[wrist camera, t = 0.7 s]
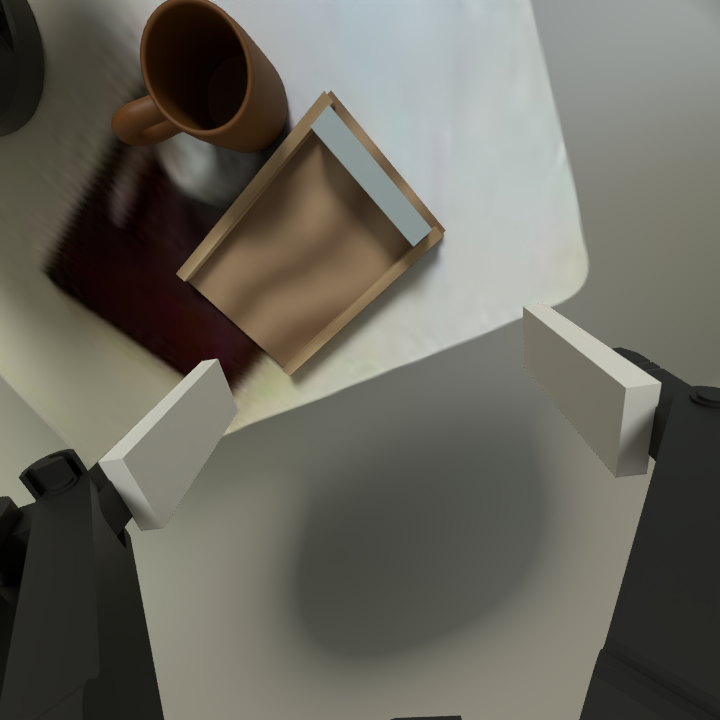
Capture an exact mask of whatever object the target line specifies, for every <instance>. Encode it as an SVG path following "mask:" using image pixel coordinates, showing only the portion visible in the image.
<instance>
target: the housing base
mask: <svg viewBox="0 0 720 720" xmlns="http://www.w3.org/2000/svg"><path fill="white" fill-rule="evenodd" d="M328 105H329V106H330V107H331V108H332V109H333V110H334V112H335V113H336V114H337V115H338V116H339V118H340V119H341V120H342V121H343V122H344V124H345V125H346V126H347V127H348V128H349V130H350V131H351V132H352V133H353V135H354V136H355V137H356V138H357V139H358V141H359V142H360V143H361V144H362V145H363V147H364V148H365V149H366V150H367V151H368V153H369V154H370V155H371V156H372V157H373V159H374V160H375V161H376V162H377V163H378V165H379V166H380V167H381V168H382V170H383V171H384V172H385V173H386V174H387V176H388V177H389V178H390V179H391V180H392V182H393V183H394V184H395V185H396V186H397V188H398V189H399V190H400V191H401V192H402V194H403V195H404V196H405V197H406V198H407V200H408V201H409V202H410V203H411V204H412V206H413V207H414V208H415V209H416V211H417V212H418V213H419V214H420V215H421V217H422V218H423V219H424V220H425V221H426V223H427V224H428V225H429V226H430V227H431V229H432V230H431V231H430V232H429V233H428V234H427V235H426V236H425V237H424V238H423V239H422V240H420V241H419V242H418V243H417V244H416V245H415V246H414V247H413V246H412V244H411V243H410V242H409V241H408V240H407V239H406V237H405V236H404V235H403V234H402V233H401V232H400V230H399V229H398V228H397V227H396V226H395V225H394V223H393V222H392V221H391V220H390V219H389V218H388V216H387V215H386V214H385V213H384V212H383V211H382V210H381V208H380V207H379V206H378V205H377V204H376V203H375V201H374V200H373V199H372V198H371V197H370V196H369V194H368V193H367V192H366V191H365V190H364V189H363V187H362V186H361V185H360V184H359V183H358V182H357V180H356V179H355V178H354V177H353V176H352V175H351V173H350V172H349V171H348V170H347V169H346V168H345V167H344V165H343V164H342V163H341V162H340V161H339V160H338V158H337V157H336V156H335V155H334V154H333V153H332V151H331V150H330V149H329V148H328V147H327V146H326V144H325V143H324V142H323V141H322V140H321V139H320V137H319V136H318V135H317V134H316V133H315V132H314V130H313V129H312V128H311V127H310V126H311V125H312V124H313V123H314V122H315V120H316V119H317V118H318V117H319V116H320V114H321V113H322V112H323V111H324V110H325V108H326V107H327V106H328ZM443 232H445V229H444V228H443V227H442V226H441V224H440V223H439V222H438V221H437V219H436V218H435V217H434V216H433V215H432V213H431V212H430V211H429V210H428V208H427V207H426V206H425V205H424V204H423V202H422V201H421V200H420V199H419V197H418V196H417V195H416V194H415V193H414V191H413V190H412V189H411V188H410V186H409V185H408V184H407V183H406V182H405V180H404V179H403V178H402V177H401V175H400V174H399V173H398V172H397V171H396V169H395V168H394V167H393V166H392V164H391V163H390V162H389V161H388V160H387V158H386V157H385V156H384V155H383V153H382V152H381V151H380V150H379V149H378V147H377V146H376V145H375V144H374V142H373V141H372V140H371V139H370V138H369V136H368V135H367V134H366V133H365V131H364V130H363V129H362V128H361V127H360V125H359V124H358V123H357V122H356V120H355V119H354V118H353V117H352V116H351V114H350V113H349V112H348V111H347V109H346V108H345V107H344V106H343V104H342V103H341V102H340V101H339V100H338V98H337V97H336V96H335V95H334V93H333V92H332V91H330V92H329V93H328V95H327V94H326V93H325V91H324V92H323V93H322V94H321V96H320V97H319V98H318V99H317V101H316V102H315V103H314V104H313V105H312V107H311V108H310V109H309V110H308V112H307V113H306V114H305V115H304V117H303V118H302V119H301V120H300V122H299V123H298V124H297V125H296V126H295V128H294V129H293V130H292V131H291V133H290V134H289V135H288V136H287V138H286V139H285V140H284V141H283V143H282V144H281V145H280V146H279V147H278V149H277V150H276V151H275V152H274V154H273V155H272V156H271V157H270V159H269V160H268V161H267V162H266V164H265V165H264V166H263V167H262V168H261V170H260V171H259V172H258V173H257V175H256V176H255V177H254V178H253V180H252V181H251V182H250V183H249V185H248V186H247V187H246V188H245V189H244V191H243V192H242V193H241V194H240V196H239V197H238V198H237V199H236V201H235V202H234V203H233V204H232V206H231V207H230V208H229V209H228V210H227V212H226V213H225V214H224V215H223V217H222V218H221V219H220V220H219V222H218V223H217V224H216V225H215V227H214V228H213V229H212V230H211V231H210V233H209V234H208V235H207V236H206V238H205V239H204V240H203V241H202V243H201V244H200V245H199V246H198V248H197V249H196V250H195V251H194V252H193V254H192V255H191V256H190V257H189V259H188V260H187V261H186V262H185V264H184V265H183V266H182V267H181V269H180V270H179V271H178V272H177V273H176V274H177V275H178V276H179V277H180V278H181V279H182V280H183V281H188V282H189V283H190V284H192V285H193V286H194V287H195V288H196V289H197V290H198V291H199V292H200V293H201V294H203V295H204V296H205V297H206V298H207V299H208V300H209V301H210V302H211V303H213V304H214V305H215V306H216V307H217V308H218V309H219V310H220V311H221V312H223V313H224V314H225V315H226V316H227V317H228V318H229V319H230V320H231V321H233V322H234V323H235V324H236V325H237V326H238V327H239V328H240V329H241V330H243V331H244V332H245V333H246V334H247V335H248V336H249V337H250V338H251V339H253V340H254V341H255V342H256V343H257V344H258V345H259V346H260V347H261V348H263V349H264V350H265V351H266V352H267V353H268V354H269V355H270V356H271V357H272V358H274V359H275V360H276V361H277V362H278V363H279V364H280V365H281V366H282V367H284V368H283V370H284V371H285V372H286V373H287V374H288V375H289V376H290V375H291V374H292V373H293V372H294V371H295V370H297V369H298V368H299V367H300V366H301V365H302V364H303V363H304V362H305V361H306V360H308V359H309V358H310V357H311V356H312V355H313V354H314V353H315V352H316V351H318V350H319V349H320V348H321V347H322V346H323V345H324V344H325V343H326V342H327V341H329V340H330V339H331V338H332V337H333V336H334V335H335V334H336V333H337V332H338V331H340V330H341V329H342V328H343V327H344V326H345V325H346V324H347V323H348V322H349V321H351V320H352V319H353V318H354V317H355V316H356V315H357V314H358V313H359V312H360V311H362V310H363V309H364V308H365V307H366V306H367V305H368V304H369V303H370V302H371V301H373V300H374V299H375V298H376V297H377V296H378V295H379V294H380V293H381V292H382V291H384V290H385V289H386V288H387V287H388V286H389V285H390V284H391V283H392V282H393V281H395V280H396V279H397V278H398V277H399V276H400V275H401V274H402V273H403V272H404V271H406V270H407V269H408V268H409V267H410V266H411V265H412V264H413V263H414V262H415V261H417V260H418V259H419V258H420V257H421V256H422V255H423V254H424V253H425V252H426V251H428V250H429V249H430V248H431V247H432V246H433V245H434V244H435V243H436V242H437V241H439V240H440V239H441V238H442V237H443V235H442V233H443Z"/></svg>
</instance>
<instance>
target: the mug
mask: <svg viewBox="0 0 720 720" xmlns="http://www.w3.org/2000/svg"><path fill="white" fill-rule="evenodd" d="M140 63H141V69H142V75H143V78H144V82H145V85H146V87H147V90H148V92H149V95H148V96H145V97H142V98H140V99H137V100H135V101H132V102H129V103H127V104H126V105H124V106H123V107H121V108H120V109H119V110H118V111H117V112H116V113H115V114H114V116H113V117H112V129H113V131H114V133H115V134H116V135H117V137H118V138H119V139H120V140H121V141H123V142H124V143H127V144H130V145H136V146H143V145H151V144H155V143H158V142H161V141H164V140H167V139H169V138H171V137H173V136H175V135H176V134H178V133H181V132H185V133H187V134H189V135H191V136H193V137H195V138H197V139H199V140H202V141H204V142H207V143H210V144H214V145H217V146H220V147H223V148H227V149H231V150H234V151H237V152H242V153H254V152H259V151H262V150H264V149H266V148H268V147H269V146H271V145H272V144H273V143H274V142H275V141H276V140H277V138H278V137H279V135H280V134H281V132H282V130H283V128H284V125H285V122H286V116H287V99H286V93H285V89H284V85H283V83H282V80H281V78H280V76H279V74H278V72H277V71H276V69H275V68H274V66H273V65H272V63H271V62H270V61H269V60H268V59H267V57H266V56H265V55H264V53H263V52H262V51H261V50H260V48H259V47H258V46H257V45H256V43H255V42H254V41H253V40H252V39H251V37H250V36H249V35H248V34H247V33H246V31H245V30H244V29H243V28H242V27H241V26H240V25H239V24H238V23H237V22H236V21H235V20H234V19H233V18H232V17H230V16H229V15H228V14H227V13H226V12H225V11H224V10H223V9H221V8H220V7H219V6H217V5H216V4H214V3H212V2H210V1H209V0H168V1H166V2H164V3H162V4H161V5H160V6H159V7H158V8H157V9H156V10H155V11H154V12H153V13H152V15H151V16H150V18H149V19H148V21H147V23H146V26H145V28H144V31H143V35H142V39H141V45H140Z"/></svg>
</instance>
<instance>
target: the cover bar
mask: <svg viewBox="0 0 720 720" xmlns="http://www.w3.org/2000/svg"><path fill="white" fill-rule="evenodd" d="M310 127H311V128H312V129H313V130H314V132H315V133H316V134H317V135H318V136H319V137H320V139H321V140H322V141H323V142H324V143H325V144H326V146H327V147H328V148H329V149H330V150H331V151H332V153H333V154H334V155H335V156H336V157H337V158H338V160H339V161H340V162H341V163H342V164H343V165H344V167H345V168H346V169H347V170H348V171H349V172H350V173H351V175H352V176H353V177H354V178H355V179H356V180H357V182H358V183H359V184H360V185H361V186H362V187H363V189H364V190H365V191H366V192H367V193H368V194H369V196H370V197H371V198H372V199H373V200H374V201H375V203H376V204H377V205H378V206H379V207H380V208H381V210H382V211H383V212H384V213H385V214H386V215H387V216H388V218H389V219H390V220H391V221H392V222H393V223H394V225H395V226H396V227H397V228H398V229H399V230H400V232H401V233H402V234H403V235H404V236H405V237H406V239H407V240H408V241H409V242H410V243H411V244H412V246H413V247H414V246H415V245H416V244H417V243H418V242H419V241H420V240H422V239H423V238H424V237H425V236H426V235H427V234H428V233H429V232H430V231H431V230H432V229H431V227H430V226H429V225H428V224H427V223H426V221H425V220H424V219H423V218H422V217H421V215H420V214H419V213H418V212H417V211H416V209H415V208H414V207H413V206H412V204H411V203H410V202H409V201H408V200H407V198H406V197H405V196H404V195H403V194H402V192H401V191H400V190H399V189H398V188H397V186H396V185H395V184H394V183H393V182H392V180H391V179H390V178H389V177H388V176H387V174H386V173H385V172H384V171H383V170H382V168H381V167H380V166H379V165H378V163H377V162H376V161H375V160H374V159H373V157H372V156H371V155H370V154H369V153H368V151H367V150H366V149H365V148H364V147H363V145H362V144H361V143H360V142H359V141H358V139H357V138H356V137H355V136H354V135H353V133H352V132H351V131H350V130H349V128H348V127H347V126H346V125H345V124H344V122H343V121H342V120H341V119H340V118H339V116H338V115H337V114H336V113H335V112H334V110H333V109H332V108H331V107H330V106H329V105H328V106H327V107H326V108H325V110H324V111H323V112H322V113H321V114H320V116H319V117H318V118H317V119H316V120H315V122H314V123H313V124H312V125H311V126H310Z"/></svg>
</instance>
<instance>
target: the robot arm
mask: <svg viewBox="0 0 720 720" xmlns="http://www.w3.org/2000/svg"><path fill="white" fill-rule="evenodd" d="M43 73H44V68H43V54H42V48H41V42H40V38H39V34H38V30H37V27H36V24H35V21H34V18H33V15H32V13H31V10H30V8H29V6H28V3H27V1H26V0H0V136H3V135H7V134H10V133H12V132H14V131H16V130H17V129H19V128H20V127H22V126H23V125H24V124H25V123H26V122H27V121H28V120H29V118H30V117H31V116H32V114H33V112H34V111H35V109H36V107H37V104H38V102H39V99H40V95H41V91H42V86H43ZM523 334H524V368H525V369H526V370H527V372H528V373H529V374H530V375H531V376H532V378H533V379H534V380H535V381H536V382H537V384H538V385H539V386H540V387H541V388H542V390H543V391H544V392H545V393H546V394H547V396H548V397H549V398H550V399H551V400H552V402H553V403H554V404H555V405H556V406H557V408H558V409H559V410H560V411H561V412H562V414H563V415H564V416H565V417H566V419H567V420H568V421H569V422H570V423H571V425H572V426H573V427H574V428H575V429H576V431H577V432H578V433H579V434H580V435H581V436H582V438H583V439H584V440H585V441H586V443H587V444H588V445H589V446H590V447H591V449H592V450H593V451H594V452H595V453H596V455H597V456H598V457H599V458H600V460H601V461H602V462H603V463H604V464H605V466H607V468H608V469H609V470H610V472H611V473H612V474H613V475H614V476H615V477H624V476H633V475H641V474H647V468H648V462H649V456H651V457H652V458H653V459H654V460H655V461H656V463H655V467H654V470H653V474H652V477H651V481H650V484H649V488H648V491H647V495H646V499H645V502H644V506H643V509H642V513H641V516H640V520H639V524H638V527H637V531H636V534H635V538H634V541H633V545H632V549H631V552H630V556H629V559H628V563H627V566H626V570H625V574H624V577H623V581H622V584H621V588H620V592H619V595H618V599H617V602H616V606H615V610H614V613H613V617H612V620H611V624H610V628H609V631H608V634H607V638H606V641H605V644H604V647H603V649H601V650H600V652H599V655H598V658H597V661H596V664H595V667H594V670H593V674H592V677H591V681H590V684H589V688H588V691H587V695H586V698H585V702H584V705H583V709H582V712H581V716H580V719H579V720H720V388H717V387H708V386H690V385H689V384H687V383H685V382H683V381H682V380H681V379H679V378H677V377H675V376H674V375H672V374H671V373H669V372H667V371H666V370H664V369H661V368H660V366H658V365H656V364H655V363H653V362H650V360H648V359H647V358H645V357H644V356H642V355H640V354H639V353H636V352H633V351H630V350H627V349H623V348H613V349H610V348H609V347H607V346H606V345H605V344H603V343H602V342H600V341H598V340H597V339H595V338H594V337H592V336H591V335H590V334H588V333H587V332H585V331H584V330H582V329H581V328H579V327H578V326H576V325H575V324H573V323H572V322H571V321H569V320H568V319H566V318H565V317H563V316H562V315H560V314H559V313H557V312H556V311H554V310H553V309H551V308H550V307H548V306H547V305H545V304H544V303H540V304H534V305H528V306H523ZM237 412H238V408H237V406H236V403H235V401H234V398H233V396H232V393H231V391H230V388H229V386H228V383H227V381H226V378H225V376H224V373H223V371H222V368H221V366H220V363H219V361H218V359H213V360H207V361H202V362H201V363H200V364H199V365H198V366H197V367H196V368H195V369H193V370H192V371H191V372H190V373H189V374H188V375H187V376H186V377H185V378H184V379H183V380H182V381H181V382H180V383H179V384H178V385H177V386H176V387H175V388H174V389H173V390H172V391H171V392H170V393H169V394H168V395H167V396H166V397H165V398H163V399H162V400H161V401H160V402H159V403H158V404H157V405H156V406H155V407H154V408H153V409H152V410H151V411H150V412H149V413H148V414H147V415H146V416H145V417H144V418H143V419H142V420H141V421H140V422H139V423H138V424H137V425H136V426H135V427H133V428H132V429H131V430H130V431H129V432H128V433H127V434H126V435H125V436H124V437H123V438H122V439H121V440H120V441H119V442H118V443H117V444H116V445H114V446H113V447H112V449H110V450H109V451H108V452H107V453H106V454H105V455H104V456H103V457H102V458H101V459H100V460H99V461H98V462H97V463H96V464H95V465H94V466H93V467H92V468H91V469H90V470H89V471H87V469H86V467H85V466H84V464H83V463H82V461H81V460H80V458H79V457H78V455H77V454H76V452H75V451H74V450H73V449H67V450H62V451H58V452H55V453H53V454H50V455H48V456H46V457H44V458H42V459H40V460H38V461H36V462H35V463H33V464H32V465H30V466H29V467H28V468H27V469H25V470H24V471H23V472H22V474H21V475H20V477H19V478H20V480H21V481H22V483H23V484H24V485H25V486H26V488H27V489H28V490H29V492H30V493H31V494H32V496H33V497H34V498H35V500H36V502H35V503H32V504H29V505H26V506H23V507H20V508H18V507H17V506H16V504H15V503H14V502H13V501H12V499H11V498H10V497H8V496H7V497H6V496H5V497H0V720H164V716H163V711H162V705H161V700H160V694H159V689H158V683H157V678H156V673H155V668H154V662H153V657H152V651H151V646H150V640H149V635H148V629H147V624H146V618H145V613H144V608H143V602H142V597H141V592H140V586H139V581H138V575H137V570H136V564H135V559H134V554H133V549H132V543H131V537H130V535H129V533H128V532H127V530H126V529H125V526H126V524H127V523H128V522H129V520H130V519H131V518H132V517H133V518H134V520H135V522H136V523H137V525H138V527H139V528H140V530H141V531H143V530H151V529H160V528H164V526H165V525H166V523H167V522H168V520H169V519H170V517H171V515H172V514H173V512H174V511H175V509H176V508H177V506H178V505H179V503H180V501H181V500H182V498H183V497H184V495H185V493H186V492H187V490H188V489H189V487H190V486H191V484H192V482H193V481H194V479H195V478H196V476H197V474H198V473H199V471H200V470H201V468H202V467H203V465H204V464H205V462H206V461H207V459H208V457H209V456H210V454H211V453H212V451H213V450H214V448H215V446H216V445H217V443H218V442H219V440H220V439H221V437H222V435H223V434H224V432H225V431H226V429H227V428H228V426H229V424H230V423H231V421H232V420H233V418H234V417H235V415H236V413H237ZM391 720H462V719H461V716H438V717H411V718H394V719H391Z"/></svg>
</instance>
